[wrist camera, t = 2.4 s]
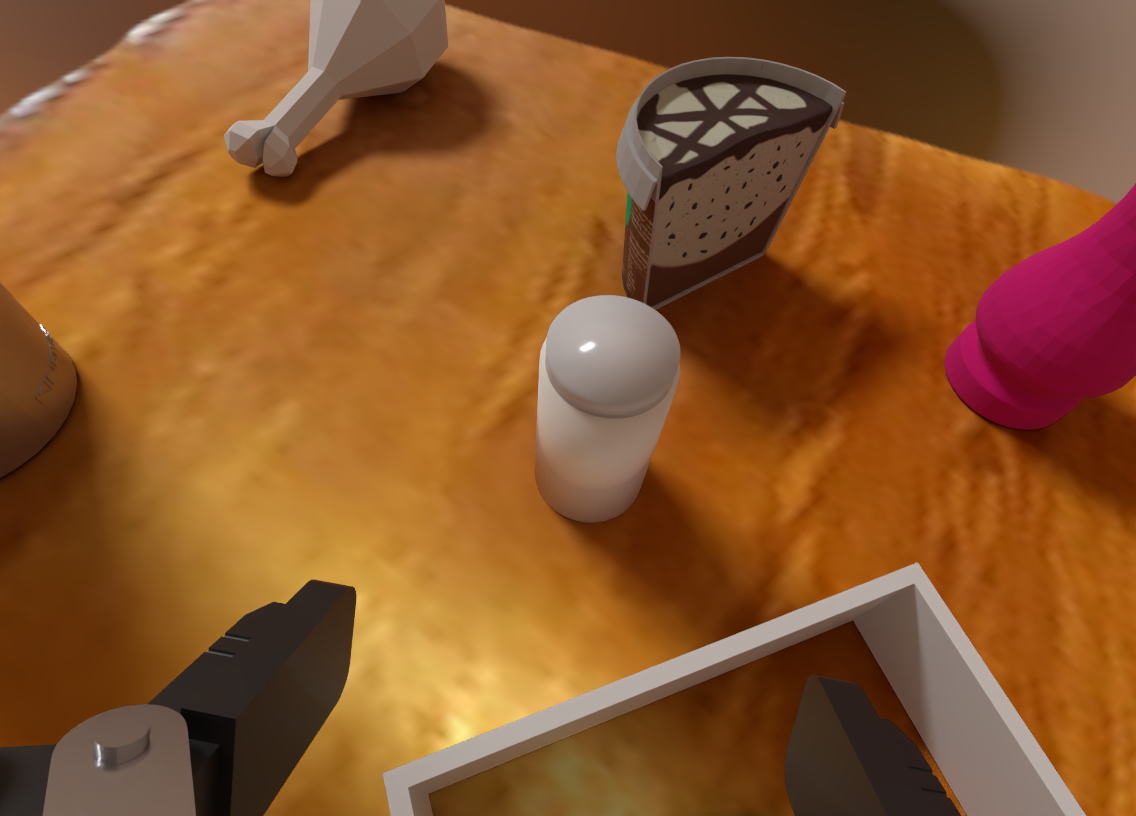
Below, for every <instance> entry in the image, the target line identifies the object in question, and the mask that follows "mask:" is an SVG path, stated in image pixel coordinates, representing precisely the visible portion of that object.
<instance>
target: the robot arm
mask: <svg viewBox="0 0 1136 816" xmlns="http://www.w3.org/2000/svg"><path fill="white" fill-rule="evenodd" d="M76 389H77V377H76V369H75V366H74V364H73V362H72V360H71V358H70V356H69V355H68V354H67V353H66V352H65V351H64V350H63V349H62V348H61V346H60V345H59V344H58V343H57V342H56V341H55V340H54V339H53V338H52V337H51V335H50V334H49V332H48V331H47V330H46V329H45V328H44V327H43V326H42V325H41V324H39V323H38V322H37V321H36V320H35V319H34V318H33V317H32V316H31V315H30V314H29V313H28V312H27V311H26V310H25V309H24V308H23V306H22V305H21V304H20V303H19V302H18V301H17V300H16V299H15V298H14V297H13V296H12V294H11V293H10V292H9V291H8V290H7V289H6V288H5V287H4V286H3V285H2V284H1V283H0V478H1V477H2V476H4V475H6V474H8V473H10V472H11V471H13V470H15V469H16V468H18V467H19V466H20V465H22V464H23V463H24V462H26V461H27V460H28V459H30V458H31V457H32V456H34V455H35V454H36V453H38V452H39V451H40V450H41V448H42V447H43V446H44V445H45V444H46V443H47V442H48V441H49V440H50V439H51V438H52V437H53V436H54V435H55V434H56V432H57V431H58V430H59V428H60V427H61V425H62V424H63V422H64V421H65V420H66V418H67V416H68V414H69V412H70V409H71V407H72V405H73V402H74V400H75V394H76ZM355 607H356V591H355V588H354V587H351V586H346V585H340V584H335V583H330V582H324V581H319V580H310V581H309V582H308V583H306V584H305V585H304V586H303V587H302V588H301V589H300V590H299V591H298V592H297V593H296V594H295V595H294V596H293V597H292V598H291V599H290V600H289V601H288V602H287V603H286V604H282V603H277V602H272V603H270V604H268V605H266V606H264V607H261V608H259V609H257V610H255V611H253V612H251V613H248V614H246V615H245V616H244V617H242V618H241V619H240V620H239V621H238V622H237V623H236V624H235V625H234V626H233V627H231V628H230V629H229V630H228V631H227V632H226V633H225V636H224V637H221V638H219V639H218V640H217V641H216V642H215V643H214V644H213V645H212V646H211V647H210V648H209V650H208V652H204V653H203V654H202V655H201V656H200V657H199V658H197V659H196V660H195V661H194V662H193V663H192V664H191V665H190V666H189V667H188V668H187V669H185V670H184V671H183V672H182V673H181V674H180V675H179V676H178V677H177V678H176V679H174V680H173V681H172V682H171V683H170V684H169V685H168V686H167V687H166V688H165V689H163V690H162V691H161V692H160V693H159V694H158V695H157V696H156V697H155V698H154V699H153V700H151V701H150V702H149V703H148V704H141V705H131V706H124V707H120V708H116V709H112V710H109V711H106V712H103V713H100V714H98V715H96V716H93V717H91V718H89V719H87V720H85V721H84V722H82V723H80V724H79V725H77V726H76V727H74V728H73V729H71V730H70V731H69V732H68V733H67V734H66V735H65V736H64V737H63V738H62V739H61V740H60V741H59V742H58V744H55V745H41V746H22V747H2V748H0V816H263V815H264V814H265V812H266V811H267V809H268V808H269V806H270V804H271V803H272V801H273V800H274V798H275V797H276V795H277V794H278V792H279V791H280V789H281V788H282V786H283V785H284V783H285V782H286V780H287V779H288V777H289V776H290V774H291V772H292V771H293V769H294V768H295V766H296V765H297V763H298V762H299V760H300V759H301V757H302V756H303V754H304V753H305V751H306V750H307V748H308V747H309V745H310V744H311V742H312V740H313V739H314V737H315V736H316V734H317V733H318V731H319V730H320V728H321V727H322V725H323V724H324V722H325V721H326V719H327V718H328V716H329V715H330V713H331V712H332V710H333V708H334V707H335V705H336V704H337V702H338V700H339V698H340V696H341V694H342V691H343V689H344V686H345V683H346V680H347V676H348V672H349V666H350V657H351V647H352V637H353V627H354V617H355ZM785 783H786V789H787V793H788V796H789V800H790V803H791V806H792V809H793V812H794V815H795V816H961V815H960V813H959V812H958V810H957V808H956V807H955V805H954V804H953V802H952V801H951V799H950V798H947V797H946V791H945V789H944V788H943V786H942V785H941V783H940V782H939V780H938V778H937V777H936V776H934V775H933V774H932V769H931V767H930V766H929V764H928V763H927V761H926V760H925V758H924V756H923V755H922V753H921V752H920V750H919V749H918V747H917V745H916V744H915V743H914V742H913V741H912V740H910V739H909V738H908V737H907V736H906V735H905V734H904V733H903V732H902V731H901V730H900V729H899V728H897V727H896V726H895V725H894V724H893V723H892V722H891V721H890V720H887V719H881V718H879V716H878V715H877V713H876V711H875V710H874V708H873V706H872V704H871V703H870V701H869V699H868V698H867V696H866V694H865V693H864V691H863V689H862V688H861V686H860V685H859V684H858V683H856V682H850V681H845V680H840V679H834V678H829V677H824V676H819V675H810V676H809V677H808V679H807V680H806V683H805V685H804V688H803V692H802V696H801V700H800V703H799V707H798V711H797V714H796V718H795V722H794V726H793V729H792V733H791V737H790V740H789V744H788V748H787V752H786V758H785Z"/></svg>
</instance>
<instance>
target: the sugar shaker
mask: <svg viewBox="0 0 1136 816" xmlns="http://www.w3.org/2000/svg"><path fill="white" fill-rule="evenodd" d="M679 362H680V344H679V341H678V337H677V335H676V333H675V331H674V329H673V328H672V326H671V325H670V323H669V322H668V321H667V320H666V319H665V318H664V317H663V316H662V315H661V314H660V313H659V312H657V311H656V310H654V309H653V308H651V307H650V306H648V305H646V304H644V303H642V302H640V301H637V300H634V299H631V298H627V297H622V296H614V295H602V296H594V297H588V298H585V299H582V300H579V301H577V302H575V303H573V304H571V305H569V306H568V307H566V308H565V309H564V310H562V311H561V312H560V313H559V314H558V315H557V316H556V318H555V319H554V321H553V322H552V324H551V326H550V328H549V331H548V334H547V338H546V340H545V341H544V343H543V346H542V349H541V353H540V362H539V385H538V408H537V432H536V455H535V479H536V484H537V487H538V490H539V492H540V494H541V496H542V497H543V499H544V500H545V501H546V502H547V504H548V505H549V506H550V507H551V508H552V509H554V510H555V511H556V512H558V513H559V514H561V515H563V516H565V517H567V518H569V519H572V520H575V521H579V522H587V523H596V522H603V521H607V520H610V519H613V518H615V517H617V516H619V515H620V514H622V513H623V512H625V511H626V510H627V509H628V508H629V507H630V506H631V505H632V504H633V502H634V501H635V500H636V498H637V496H638V494H639V491H640V489H641V486H642V483H643V480H644V478H645V475H646V472H647V469H648V467H649V464H650V461H651V458H652V455H653V453H654V450H655V447H656V444H657V442H658V439H659V436H660V433H661V431H662V428H663V425H664V422H665V420H666V417H667V414H668V411H669V408H670V406H671V403H672V400H673V397H674V395H675V392H676V389H677V386H678V383H679V379H680V364H679Z"/></svg>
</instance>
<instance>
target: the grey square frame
mask: <svg viewBox="0 0 1136 816" xmlns="http://www.w3.org/2000/svg"><path fill="white" fill-rule="evenodd" d="M851 621H854V623H855V625H856V626H857V628H858V630H859V632H860V633H861V635H862V637H863V638H864V640H865V642H866V644H867V645H868V647H869V649H870V650H871V652H872V654H873V656H874V657H875V659H876V661H877V662H878V664H879V666H880V667H881V669H882V671H883V673H884V674H885V676H886V678H887V679H888V681H889V683H890V685H891V686H892V688H893V690H894V691H895V693H896V695H897V697H898V698H899V700H900V702H901V703H902V705H903V707H904V709H905V710H906V712H907V714H908V715H909V717H910V719H911V721H912V722H913V724H914V726H915V727H916V729H917V731H918V733H919V734H920V736H921V738H922V739H923V741H924V743H925V744H926V746H927V748H928V750H929V751H930V753H931V755H932V756H933V758H934V760H935V762H936V763H937V765H938V767H939V768H940V770H941V772H942V774H943V775H944V777H945V779H946V780H947V782H948V784H949V786H950V787H951V789H952V791H953V792H954V794H955V796H956V798H957V799H958V801H959V803H960V804H961V806H962V808H963V810H964V811H965V813H966V815H967V816H1086V815H1085V813H1084V812H1083V810H1082V809H1081V807H1080V806H1079V804H1078V803H1077V801H1076V800H1075V798H1074V797H1073V795H1072V794H1071V792H1070V791H1069V789H1068V788H1067V786H1066V785H1065V783H1064V782H1063V780H1062V779H1061V777H1060V776H1059V774H1058V773H1057V771H1056V770H1055V768H1054V767H1053V765H1052V764H1051V762H1050V761H1049V759H1048V758H1047V756H1046V755H1045V753H1044V752H1043V750H1042V749H1041V747H1040V746H1039V744H1038V743H1037V741H1036V740H1035V738H1034V737H1033V735H1032V734H1031V732H1030V731H1029V729H1028V728H1027V726H1026V725H1025V723H1024V722H1023V720H1022V719H1021V717H1020V716H1019V714H1018V713H1017V711H1016V710H1015V708H1014V707H1013V705H1012V704H1011V702H1010V701H1009V699H1008V698H1007V696H1006V695H1005V693H1004V692H1003V690H1002V689H1001V687H1000V686H999V684H998V683H997V681H996V680H995V678H994V677H993V675H992V674H991V672H990V671H989V669H988V668H987V666H986V665H985V663H984V662H983V660H982V659H981V657H980V656H979V654H978V653H977V651H976V650H975V648H974V646H973V645H972V643H971V642H970V640H969V639H968V637H967V636H966V634H965V633H964V631H963V630H962V628H961V627H960V625H959V624H958V622H957V621H956V619H955V618H954V616H953V615H952V613H951V612H950V610H949V609H948V607H947V606H946V604H945V603H944V601H943V600H942V598H941V597H940V595H939V594H938V592H937V591H936V589H935V588H934V586H933V585H932V583H931V582H930V580H929V579H928V577H927V576H926V574H925V573H924V571H923V570H922V568H921V567H920V565H919V564H918V562H917V563H915V564H912V565H910V566H907V567H905V568H902V569H900V570H897V571H895V572H892V573H890V574H887V575H884V576H882V577H879V578H877V579H874V580H872V581H869V582H867V583H864V584H862V585H859V586H857V587H854V588H851V589H849V590H846V591H844V592H841V593H839V594H836V595H834V596H831V597H829V598H826V599H824V600H821V601H818V602H816V603H813V604H811V605H808V606H806V607H803V608H801V609H798V610H796V611H793V612H791V613H788V614H785V615H783V616H780V617H778V618H775V619H773V620H770V621H768V622H765V623H763V624H760V625H758V626H755V627H752V628H750V629H747V630H745V631H742V632H740V633H737V634H735V635H732V636H730V637H727V638H725V639H722V640H719V641H717V642H714V643H712V644H709V645H707V646H704V647H702V648H699V649H697V650H694V651H692V652H689V653H686V654H684V655H681V656H679V657H676V658H674V659H671V660H669V661H666V662H664V663H661V664H659V665H656V666H653V667H651V668H648V669H646V670H643V671H641V672H638V673H636V674H633V675H631V676H628V677H626V678H623V679H620V680H618V681H615V682H613V683H610V684H608V685H605V686H603V687H600V688H598V689H595V690H593V691H590V692H587V693H585V694H582V695H580V696H577V697H575V698H572V699H570V700H567V701H565V702H562V703H560V704H557V705H554V706H552V707H549V708H547V709H544V710H542V711H539V712H537V713H534V714H532V715H529V716H527V717H524V718H521V719H519V720H516V721H514V722H511V723H509V724H506V725H504V726H501V727H499V728H496V729H494V730H491V731H488V732H486V733H483V734H481V735H478V736H476V737H473V738H471V739H468V740H466V741H463V742H461V743H458V744H455V745H453V746H450V747H448V748H445V749H443V750H440V751H438V752H435V753H433V754H430V755H428V756H425V757H422V758H420V759H417V760H415V761H412V762H410V763H407V764H405V765H402V766H400V767H397V768H395V769H392V770H389V771H387V772H384V773H383V778H384V783H385V788H386V793H387V798H388V804H389V809H390V814H391V816H433V812H432V808H431V803H430V799H429V793H432V792H434V791H437V790H439V789H442V788H444V787H447V786H449V785H451V784H454V783H456V782H459V781H461V780H464V779H466V778H469V777H471V776H473V775H476V774H478V773H481V772H483V771H486V770H488V769H491V768H493V767H496V766H498V765H500V764H503V763H505V762H508V761H510V760H513V759H515V758H518V757H520V756H522V755H525V754H527V753H530V752H532V751H535V750H537V749H540V748H542V747H545V746H547V745H549V744H552V743H554V742H557V741H559V740H562V739H564V738H567V737H569V736H571V735H574V734H576V733H579V732H581V731H584V730H586V729H589V728H591V727H593V726H596V725H598V724H601V723H603V722H606V721H608V720H611V719H613V718H616V717H618V716H620V715H623V714H625V713H628V712H630V711H633V710H635V709H638V708H640V707H642V706H645V705H647V704H650V703H652V702H655V701H657V700H660V699H662V698H665V697H667V696H669V695H672V694H674V693H677V692H679V691H682V690H684V689H687V688H689V687H691V686H694V685H696V684H699V683H701V682H704V681H706V680H709V679H711V678H713V677H716V676H718V675H721V674H723V673H726V672H728V671H731V670H733V669H736V668H738V667H740V666H743V665H745V664H748V663H750V662H753V661H755V660H758V659H760V658H762V657H765V656H767V655H770V654H772V653H775V652H777V651H780V650H782V649H785V648H787V647H789V646H792V645H794V644H797V643H799V642H802V641H804V640H807V639H809V638H811V637H814V636H816V635H819V634H821V633H824V632H826V631H829V630H831V629H833V628H836V627H838V626H841V625H843V624H846V623H848V622H851Z"/></svg>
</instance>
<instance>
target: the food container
mask: <svg viewBox="0 0 1136 816" xmlns="http://www.w3.org/2000/svg"><path fill="white" fill-rule="evenodd" d="M845 94H846V91H844V90H843V89H841V88H839V87H838V86H836V85H835V84H833V83H831V82H829V81H827V80H825V79H823V78H821V77H819V76H817V75H815V74H812V73H809V72H807V71H804V70H802V69H799V68H796V67H792V66H789V65H785V64H781V63H777V62H772V61H767V60H761V59H753V58H743V57H718V58H708V59H702V60H695V61H691V62H688V63H684V64H680V65H678V66H676V67H673V68H671V69H668V70H666V71H665V72H663V73H662V74H660V75H658V76H657V77H655V78H654V79H653V80H652V81H651V82H650V83H649V84H648V85H647V86H646V87H645V88H644V90H643V91H642V93H641V94H640V96H639V97H638V99H637V100H636V101H635V103H634V104H633V106H632V108H631V110H630V113H629V115H628V118H627V120H626V123H625V125H624V128H623V130H622V133H621V136H620V138H619V141H618V144H617V153H616V160H617V166H618V172H619V174H620V177H621V179H622V182H623V185H624V186H625V188H626V189H627V191H628V195H627V210H626V226H625V241H624V257H623V272H622V279H623V286H624V289H625V292H626V295H627V297H628V298H631V299H634V300H637V301H640V302H642V303H644V304H646V305H648V306H650V307H651V308H653V309H654V310H656V309H658V308H660V307H662V306H664V305H666V304H668V303H670V302H672V301H674V300H676V299H678V298H680V297H682V296H684V295H686V294H688V293H690V292H692V291H694V290H696V289H698V288H700V287H702V286H704V285H706V284H708V283H710V282H712V281H714V280H716V279H718V278H720V277H722V276H724V275H726V274H728V273H730V272H732V271H734V270H736V269H738V268H740V267H742V266H744V265H746V264H748V263H750V262H752V261H754V260H756V259H758V258H760V257H762V256H764V255H765V253H766V251H767V249H768V247H769V245H770V243H771V241H772V239H773V237H774V235H775V233H776V231H777V229H778V227H779V225H780V223H781V221H782V219H783V217H784V216H785V214H786V212H787V210H788V208H789V206H790V204H791V202H792V200H793V198H794V196H795V194H796V192H797V190H798V188H799V186H800V184H801V182H802V180H803V178H804V176H805V174H806V172H807V170H808V168H809V166H810V164H811V162H812V160H813V158H814V156H815V154H816V152H817V150H818V148H819V147H820V145H821V143H822V141H823V139H824V137H825V135H826V133H827V131H828V129H829V127H832V128H833V129H834V128H836V127H837V124H838V121H839V118H840V114H841V111H842V108H843V105H844V102H842V101H843V99H844V96H845Z"/></svg>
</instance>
